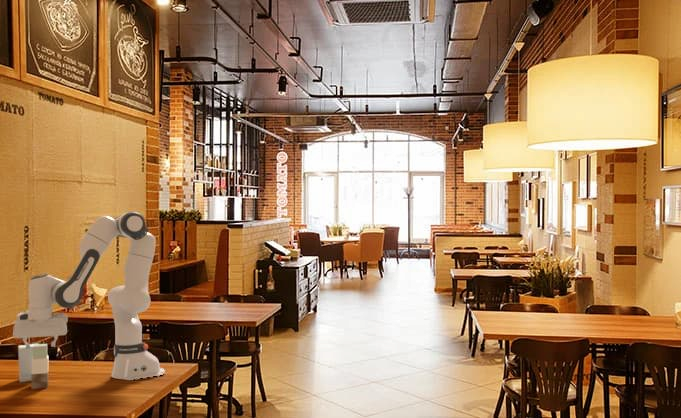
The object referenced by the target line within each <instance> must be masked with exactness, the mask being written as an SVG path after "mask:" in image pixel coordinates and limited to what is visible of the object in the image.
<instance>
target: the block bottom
mask: <svg viewBox="0 0 681 418" xmlns="http://www.w3.org/2000/svg"><path fill="white" fill-rule="evenodd" d="M30 383H31V385H30V388H31V390H37V389H46V388H49V372H48V373H42V374H31V381H30Z"/></svg>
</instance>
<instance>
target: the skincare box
mask: <svg viewBox="0 0 681 418" xmlns="http://www.w3.org/2000/svg"><path fill="white" fill-rule="evenodd" d="M35 344H39V343H38V342H37V343H30V348H28V349H26V345H25V344H23V345H18V349H17V350H18V377H19V378H18V379H19V383H26V382H31V374H32V357H33V346H34V345H35Z"/></svg>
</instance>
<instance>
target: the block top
mask: <svg viewBox="0 0 681 418" xmlns="http://www.w3.org/2000/svg"><path fill="white" fill-rule="evenodd" d="M49 359H50V358H49V355H48V354H47V358H43V359H33V357H32V374H42V373H48V374H49V368H50V367H49V366H50V365H49Z"/></svg>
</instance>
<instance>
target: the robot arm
mask: <svg viewBox="0 0 681 418" xmlns="http://www.w3.org/2000/svg"><path fill="white" fill-rule="evenodd" d="M148 231H149V230H148V227H147V224H146V220H145V218H144V216H143V215H142V214H141V213H139V212H137V211H128V212H125V213H123V214H121V215H119V216H117V217H115V218H113V217H111V216H109V215H101V216H99V217H98V218H96V220H94V222H93V223H92V224H91V226H89V228H88V229H87V230H86V232H85V233H84V235H83V237H82V239H81V241H80V243H79V246H78V250H79V254H80V256H79V257H80V259H79V262H78V264H77V266H76V268H75V269H74V271H73V273H71V276H70V277H69V279H68V280H64V279H63V280H62V279H59V278H57V277H54V276H52V275H51V274H49V273H42V274H37V275H33V277H32V278H30V280H29V284H28V299H29V304H28V310H25V311H21V312H19V313H18V314H17V315H16V317H15V318H16V321H15V323H14V325H13V329H12V330H13V331H12V337H13V338H14V339H22V342H23V343H24V345H26V349H28V348H30V344H31V343H28V341H27V340H28V338H29V339H30V338H38V337H40V338H41V337H53V339H54V340H53V341H51V342H50V347H54V348H56V342H57V340H58V339H59V336H66V335H67V333H68V325H67V324H68V321H69V316H68V314H67V313H65V312H53V305H54V304H58V306H60V307H61V308H64V309H70V308H74V307H76V306H77V305H79V303H81V301H82V298H83V294H84V293H83V292H84V288H85V286H86V283H87V282H88V280H89V278H90V277H91V275H92V273H93V271H94V269H95V268H96V265H97V264H98V262H99V261H100V260H101V258H102V257H103V255H104V254H105V253H106V252H107V250H108V248H110V245H111V244H112V242H113V240H114V239H115V238H116V237H120V238H126V239H127V238H128V239H129V243H130V244H129V250H128V253H127V256H126V260H125V264H124V268H123V274H124V285H118V286H115V287H113V288H111V289H110V290H109V292H108V295H107V301H108V304H109V305H110V307H111V311H112V316H113V322H114V328H115V329H114V330H115V331H114V333H115V334H114V335H115V343H114V346H113V355H114V356H113V357H114V362H113V368H112V372H111V376H110V377H111V378H113V379H117V380H124V381H133V380H134V379H135V380H141V379H140V378H143V379H148V378H147V377H150V378H154V377H153V376H157V377H161V376H160V375H163V374H164V373H166V370H165V369H164V368H163V367H160V362H159V359H158V357H156V356H155V355H153V354H152V353H151V352H150V351H148V348H149V345H148V344H147V343H145V342H143V340H142V339H143V338H142V337H143V335H142V334H143V333H142V332H143V331H142V330H143V325H142V322H141V321H140V318H139V315H138V314H140V313H143V312H146V310H148V309H149V307H150V306H151V296H150V294H149V277H150V273H151V269H152V264H153V261H154V257H155V251H156V246H157V245H156V244H157V242H156V241H157V240H156V237H155V236H154V235H153V234H152V233H150V232H148ZM164 375H165V374H164ZM164 375H163V376H164Z"/></svg>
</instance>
